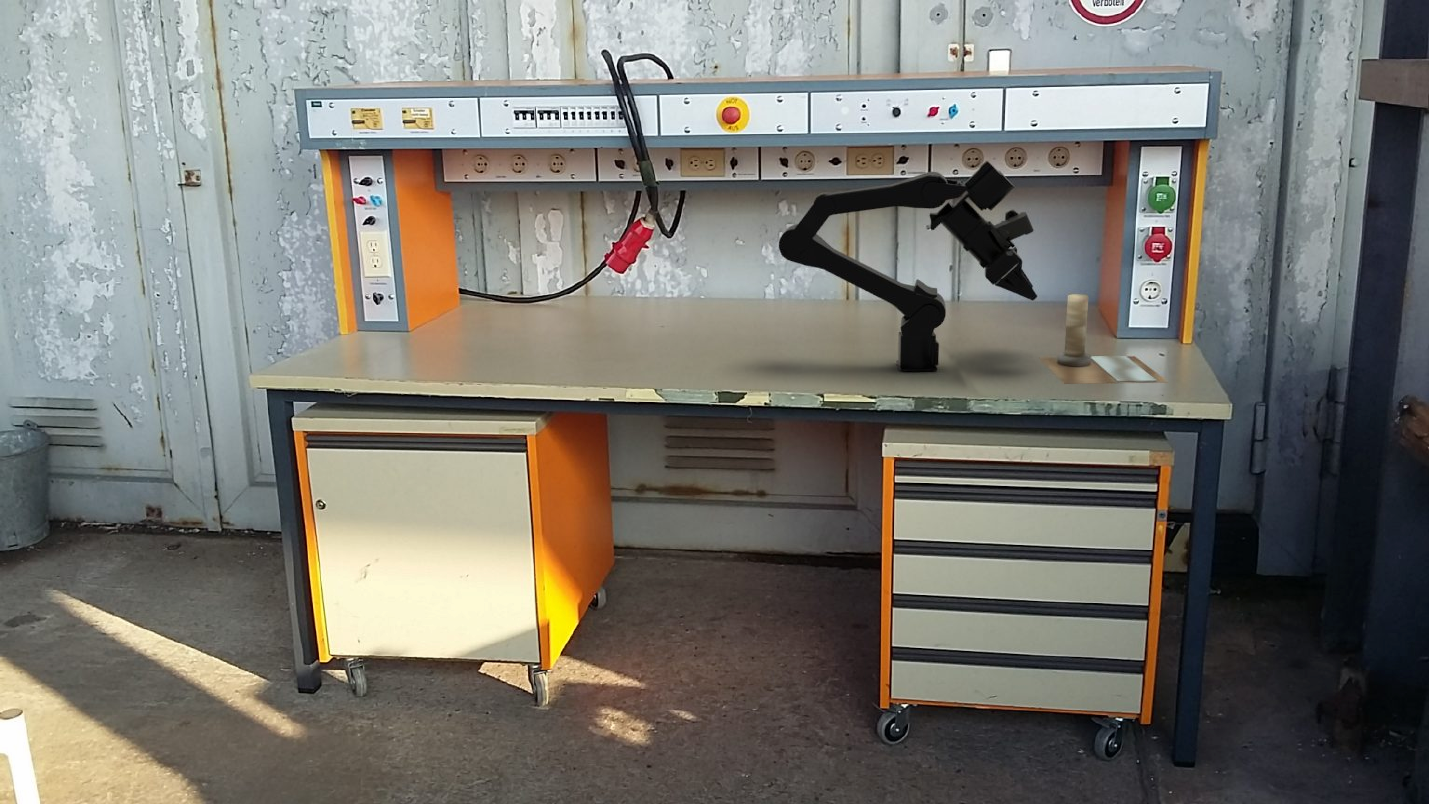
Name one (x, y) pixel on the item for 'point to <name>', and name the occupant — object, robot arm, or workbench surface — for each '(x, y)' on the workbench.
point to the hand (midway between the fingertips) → (1033, 293)
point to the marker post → (1075, 333)
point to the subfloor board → (1105, 371)
